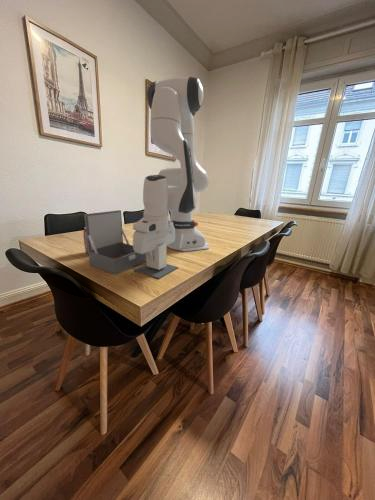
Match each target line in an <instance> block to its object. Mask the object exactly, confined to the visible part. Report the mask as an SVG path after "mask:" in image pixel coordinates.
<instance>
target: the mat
mask: <svg viewBox="0 0 375 500" xmlns="http://www.w3.org/2000/svg"><path fill="white" fill-rule="evenodd" d="M178 269H179V267H178V266H176V265H172V264H169V263H166V266H165V267H164V268H162V269H160V270H158V269H155V268H152V267H148V266H147V263H146V264H143V265H141V266H140V267H137V268H134V269H133V271H134V272H137V273H139V274H142V275H145V276H148V277H151V278H154V279H157V280H160V279H162V278H163V277H166V276H167V275H169V274H171V273H172V272H175V271H176V270H178Z"/></svg>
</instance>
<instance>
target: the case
mask: <svg viewBox="0 0 375 500" xmlns="http://www.w3.org/2000/svg"><path fill="white" fill-rule="evenodd" d="M83 217H84V225H85V226H84V228H85V227H86V236H87V244H88V253H89V254H88V258H89V259H88V260H89V265H90V266H91V267H95V268H98V269H99V270H102V271H104V272H108V273H111V274H112V275H113V274H114V275H117V274H119V273H121V272H123V271H126V270H128V269H131V268H134V267H135V266H138V265H140V264H143V263H144V262H147V254H146V253H144V254H139V253H136V252H135V251H134V249H133V244H130V242H129V240H128V238H127V235H126V234H125V231H124V229H123V221H122V210H119V209H118V210H112V211H111V210H110V211H102V212H94V213H84V214H83ZM124 241H125V242H124Z"/></svg>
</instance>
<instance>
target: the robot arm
mask: <svg viewBox="0 0 375 500" xmlns="http://www.w3.org/2000/svg"><path fill="white" fill-rule="evenodd" d="M146 100H147V104H148V107H149V109H150V126H149V127H150V128H149V129H150V137H151V140H152V142H153V144H154V146H156V147H157V148H158V149H160V150H161V151H163V152H165V153H167V154H169V155H170V156H172V157H173V158H174V159H175V160H177V161H179V163H180V167H168V168H164V169H161V170H160V171H159V172H158V174H151V175H148V176H146V177H144V180H143V181H144V182H143V187H142V188H143V190H142V202H143V203H142V204H143V206H144V209H143V217H142V218H140V219H139V220H137V221H136V222H134V223H133V224H132V230H133V231H134V232H133V236H132V245H133V249H134V251H135V252H136V253H139V254H144V253H146V257H147V256H148V260H149V261H154V256H153V255H152V253H153V250H154V249H156V246H157V245H159V244H162V243H165V244H167V248H169V249H172V250H175V251H180V252H191V251H192V252H193V251H201V250H202V251H203V250H208V249H210V244H209V243H208V242H206V237H205V235H204V234H203V232H201V231H200V230H199V229H198V228H197V227H198V226H199V222H197V221H195V220H193V210H195V209H196V206H197V202H198V201H197V193H201V192H204V191H205V190H206V189H207V188H208V185H209V181H210V179H209V178H210V177H209V175H208V173H207V171H206V170H205V169H204V168H202V166H201V165H200V163H199V161H198V159H197V156H196V152H195V122H194V116H195V115H196V113H198V111H199V110H200V109H201V107H202V105H203V100H204V87H203V83H202V81H201V80H200V79H199V78H198V77H195V76H189V77H183V76H181V77H172V78H169V79H168V78H167V79H164V80H156V81H153V82H151V83H149V86H148V87H147V89H146ZM169 212H170V219H169Z"/></svg>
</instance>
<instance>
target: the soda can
mask: <svg viewBox="0 0 375 500" xmlns="http://www.w3.org/2000/svg"><path fill="white" fill-rule="evenodd" d="M82 233H83V234H82V235H83V243H84V249H85V250H84V251H85V253H86V254H87V255H89V253H88V244H87V236H86V227H85V226H84V229H83V232H82Z"/></svg>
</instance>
